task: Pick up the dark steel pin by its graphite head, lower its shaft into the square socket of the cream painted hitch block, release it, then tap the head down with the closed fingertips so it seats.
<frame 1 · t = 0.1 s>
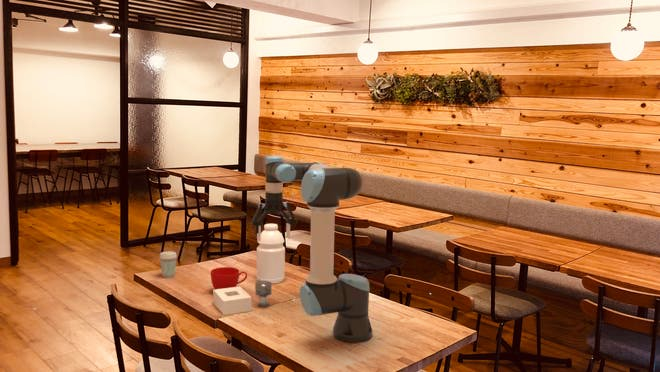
hand: (273, 239, 255), 28 cm above the table, fingers open, 13 cm apart
ceramic cup: (229, 291, 269), on the table
hitch block: (232, 306, 249), on the table
coffee cup: (168, 276, 290), on the table
pin: (263, 305, 251), on the table
bottle: (270, 280, 288), on the table
vr controller: (329, 308, 250), on the table
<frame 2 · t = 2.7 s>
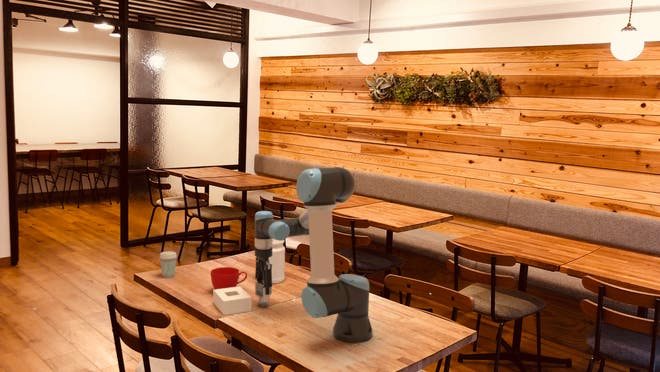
hand: (263, 298, 251), 3 cm above the table, fingers closed on pin, 7 cm apart
pin: (263, 305, 251), on the table, touching gripper
everything else where it was.
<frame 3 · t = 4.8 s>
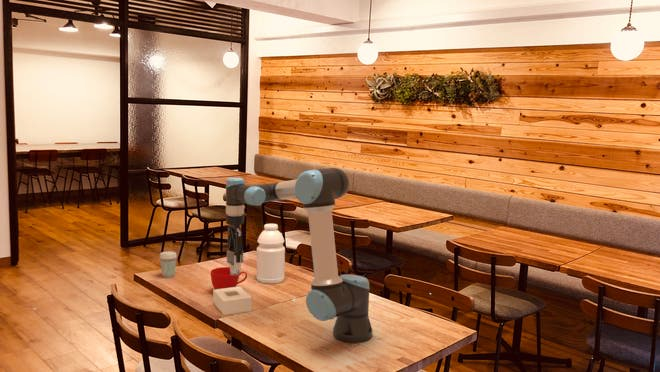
hand: (234, 267, 247), 18 cm above the table, fingers closed on pin, 7 cm apart
pin: (234, 274, 247), point 15 cm above the table, touching gripper
everything else where it was.
when the fingers open (7 cm above the table, at t = 6.8 s): pin drops 3 cm, resting on hitch block.
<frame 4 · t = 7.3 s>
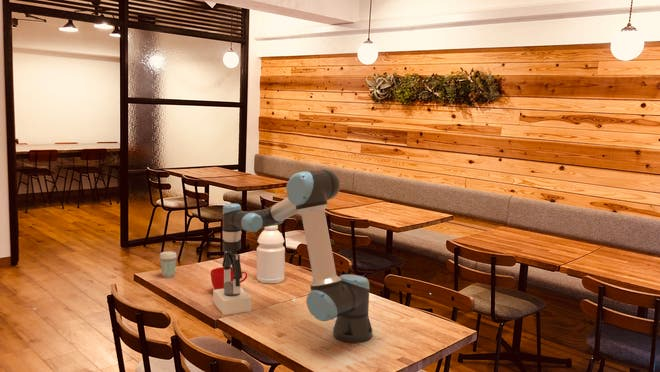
hand: (232, 288, 247), 8 cm above the table, fingers open, 13 cm apart
pin: (232, 305, 248), resting on hitch block
everything else where it was.
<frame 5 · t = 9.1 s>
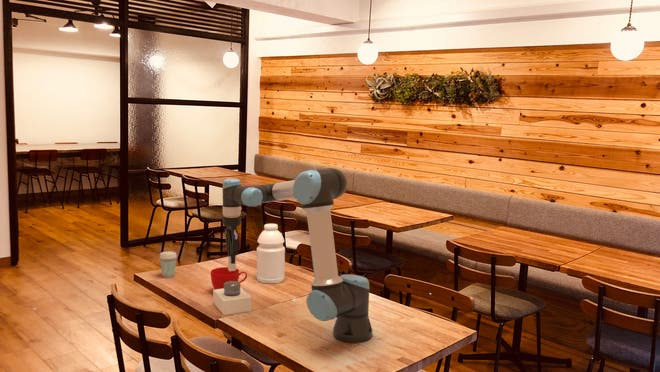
hand: (231, 270, 246), 16 cm above the table, fingers closed
nothing on the table moved.
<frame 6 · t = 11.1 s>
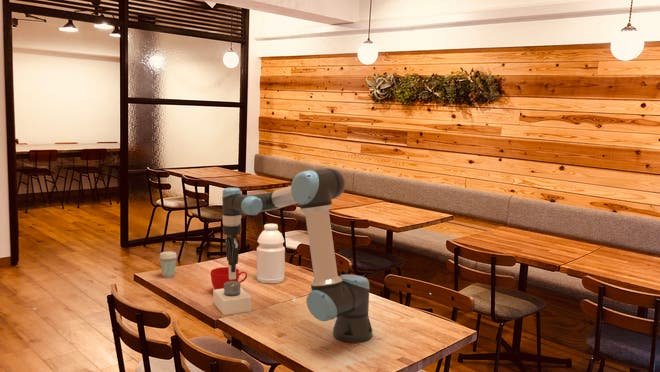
hand: (232, 278, 247), 13 cm above the table, fingers closed
nothing on the table moved.
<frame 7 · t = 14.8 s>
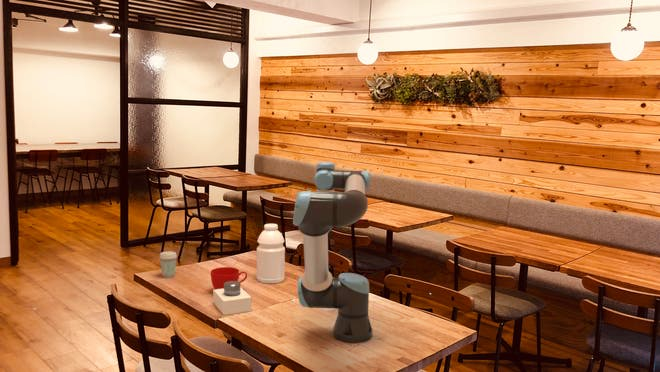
hand: (324, 253, 245), 24 cm above the table, fingers closed
nothing on the table moved.
at the end: pin 0.2 cm off-centre on the hitch block, point 0.5 cm above the hitch block's base; pin tilted 0°; the gripper is holding nothing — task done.
